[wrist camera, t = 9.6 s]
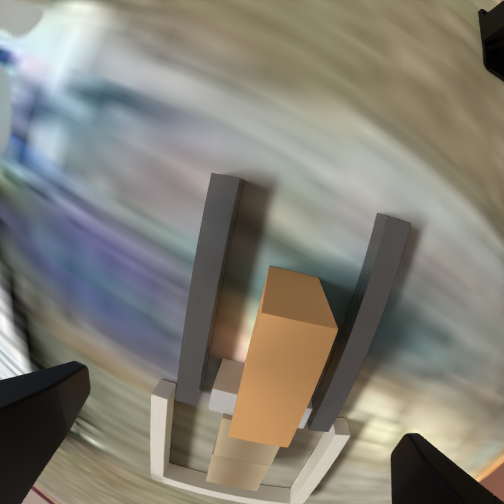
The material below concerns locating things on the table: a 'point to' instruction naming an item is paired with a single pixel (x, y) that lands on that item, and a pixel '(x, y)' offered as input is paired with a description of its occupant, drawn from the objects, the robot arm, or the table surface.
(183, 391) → the slot rails
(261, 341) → the tan rectangular block
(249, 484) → the tan wooden cube
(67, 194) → the table surface
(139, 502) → the table surface
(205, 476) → the tray
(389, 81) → the table surface
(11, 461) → the robot arm
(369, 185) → the table surface
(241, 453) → the beige cube
